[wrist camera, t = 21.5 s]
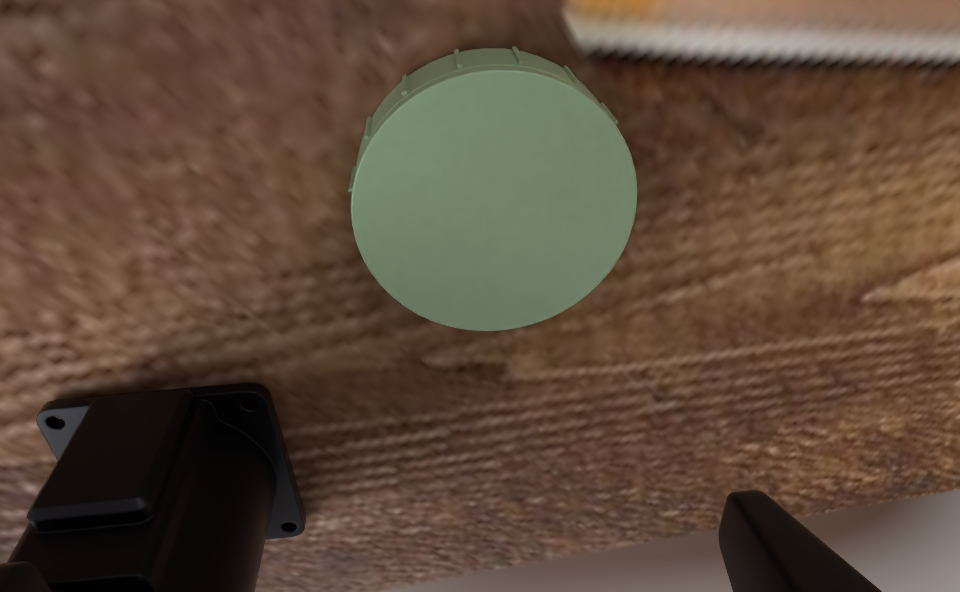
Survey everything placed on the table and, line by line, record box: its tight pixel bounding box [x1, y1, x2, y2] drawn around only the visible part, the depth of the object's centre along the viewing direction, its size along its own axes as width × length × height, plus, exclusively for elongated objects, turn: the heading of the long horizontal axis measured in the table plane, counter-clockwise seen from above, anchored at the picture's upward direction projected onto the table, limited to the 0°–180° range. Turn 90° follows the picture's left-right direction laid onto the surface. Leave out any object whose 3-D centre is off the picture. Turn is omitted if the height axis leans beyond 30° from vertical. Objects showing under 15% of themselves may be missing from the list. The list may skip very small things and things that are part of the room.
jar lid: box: [349, 46, 637, 331], centre depth 16 cm, size 7×7×2 cm
